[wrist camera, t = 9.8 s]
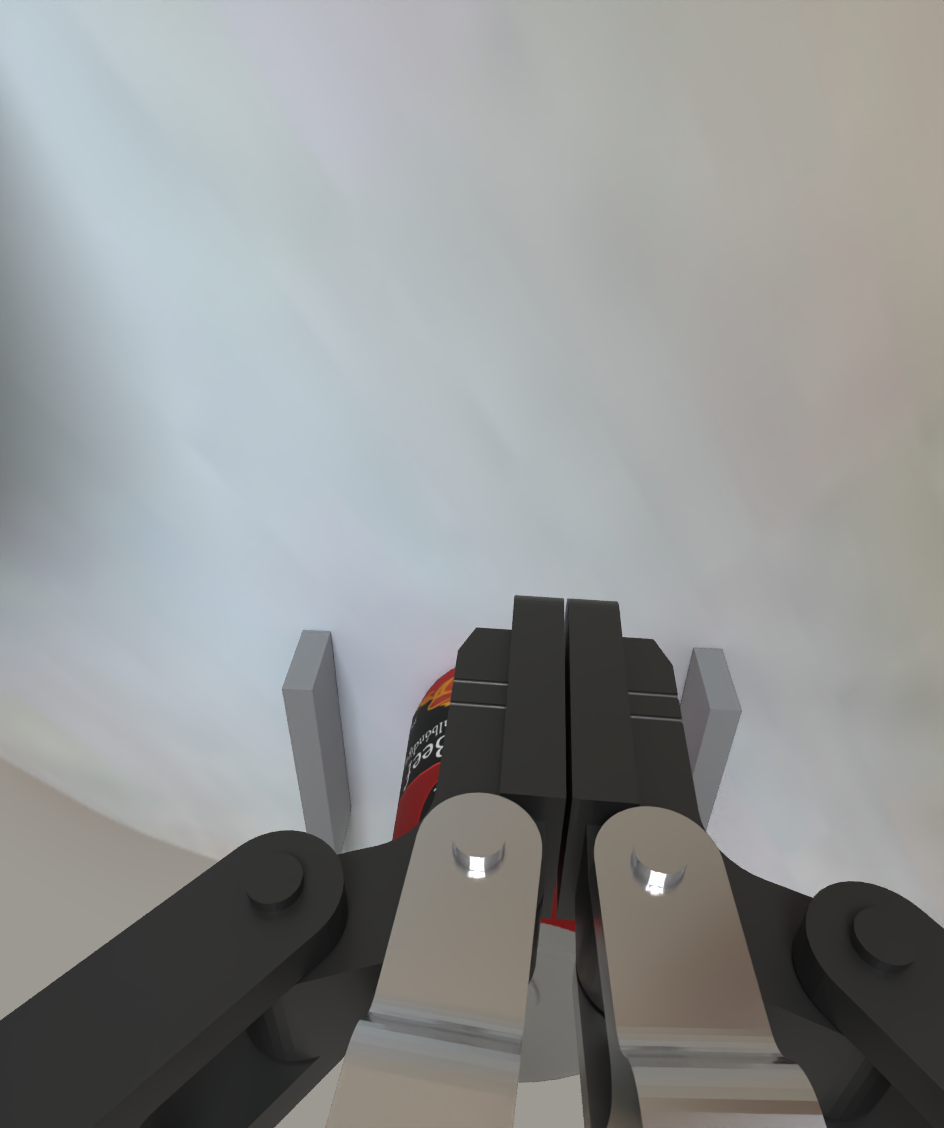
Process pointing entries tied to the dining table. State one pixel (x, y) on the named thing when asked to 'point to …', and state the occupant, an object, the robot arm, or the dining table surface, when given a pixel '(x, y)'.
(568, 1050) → the canned food
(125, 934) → the robot arm
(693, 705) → the lane rails
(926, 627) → the dining table surface
